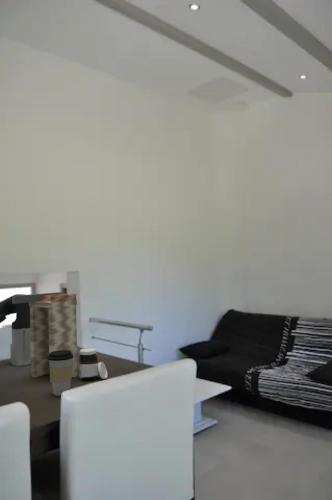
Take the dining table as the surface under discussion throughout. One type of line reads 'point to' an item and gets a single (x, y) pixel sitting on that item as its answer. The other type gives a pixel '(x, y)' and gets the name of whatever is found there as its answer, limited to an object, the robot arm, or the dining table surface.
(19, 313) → the robot arm
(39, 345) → the wooden open box
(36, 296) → the bar
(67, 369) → the coffee cup
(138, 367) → the dining table surface
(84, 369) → the spread jar
